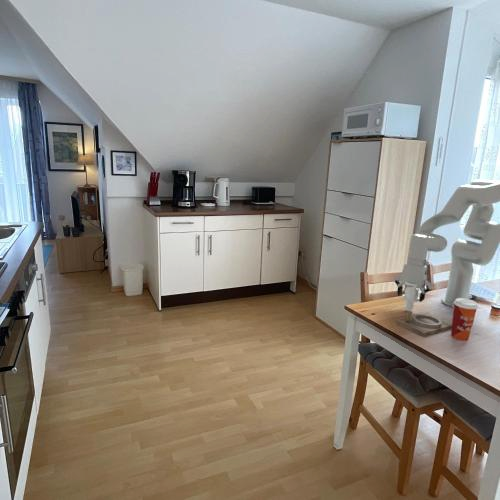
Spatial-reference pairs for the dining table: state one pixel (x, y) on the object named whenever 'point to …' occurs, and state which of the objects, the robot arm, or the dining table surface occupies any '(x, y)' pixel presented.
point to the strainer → (410, 296)
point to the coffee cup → (463, 318)
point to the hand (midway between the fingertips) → (410, 297)
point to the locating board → (425, 323)
